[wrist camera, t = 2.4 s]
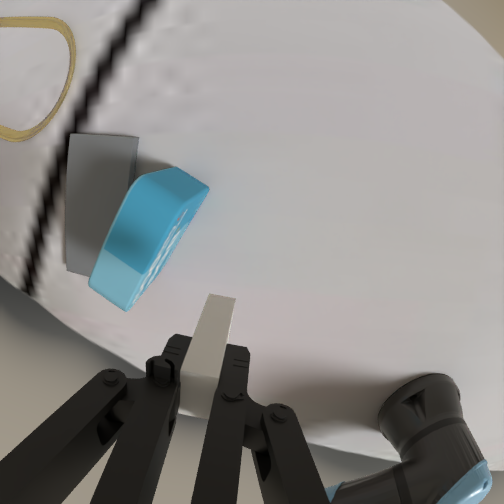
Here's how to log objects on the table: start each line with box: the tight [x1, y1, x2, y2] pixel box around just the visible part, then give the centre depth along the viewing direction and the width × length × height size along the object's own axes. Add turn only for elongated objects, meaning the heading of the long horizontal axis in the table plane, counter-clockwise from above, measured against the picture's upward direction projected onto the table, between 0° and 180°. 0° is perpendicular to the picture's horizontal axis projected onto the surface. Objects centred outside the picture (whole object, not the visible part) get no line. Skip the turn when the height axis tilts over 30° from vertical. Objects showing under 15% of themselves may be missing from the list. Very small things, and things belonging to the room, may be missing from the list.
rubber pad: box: [65, 134, 139, 277], centre depth 34 cm, size 18×9×2 cm, turn 170°
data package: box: [88, 167, 209, 312], centre depth 30 cm, size 12×4×12 cm, turn 147°
